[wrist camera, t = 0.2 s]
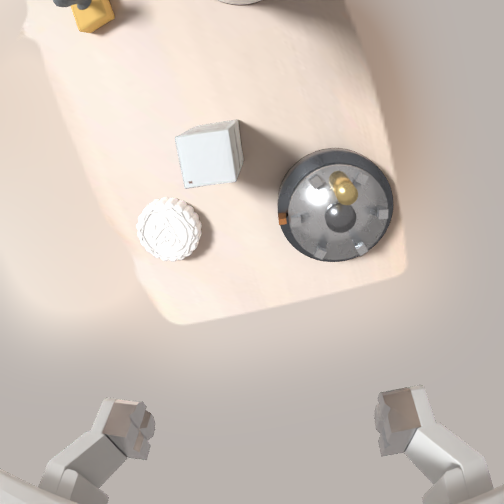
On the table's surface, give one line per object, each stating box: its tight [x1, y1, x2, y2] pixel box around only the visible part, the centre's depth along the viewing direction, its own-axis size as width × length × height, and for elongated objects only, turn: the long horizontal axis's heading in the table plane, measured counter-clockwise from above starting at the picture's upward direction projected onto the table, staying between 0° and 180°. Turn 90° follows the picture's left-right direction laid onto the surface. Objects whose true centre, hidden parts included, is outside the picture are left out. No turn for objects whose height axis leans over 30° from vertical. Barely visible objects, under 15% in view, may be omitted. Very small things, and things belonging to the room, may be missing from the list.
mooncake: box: [137, 197, 202, 261], centre depth 58 cm, size 12×12×4 cm
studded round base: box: [288, 163, 388, 260], centre depth 49 cm, size 17×17×9 cm
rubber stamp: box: [53, 0, 115, 33], centre depth 34 cm, size 10×6×12 cm, turn 20°
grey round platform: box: [278, 148, 393, 262], centre depth 53 cm, size 20×20×6 cm
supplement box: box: [175, 120, 244, 189], centre depth 46 cm, size 7×7×13 cm
